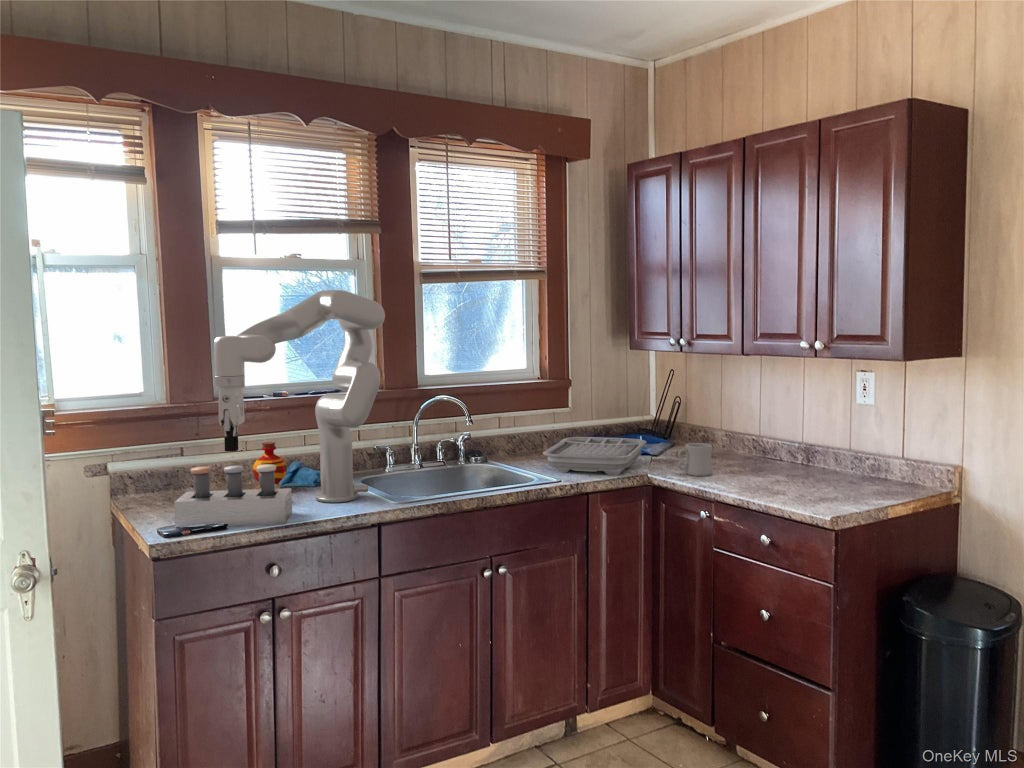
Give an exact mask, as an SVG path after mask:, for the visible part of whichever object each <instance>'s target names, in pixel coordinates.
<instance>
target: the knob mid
mask: <svg viewBox="0 0 1024 768" xmlns="http://www.w3.org/2000/svg"><path fill="white" fill-rule="evenodd" d="M244 470H245V469H244V465H228V466H225V467H223V472H224V473H225V477H226V478H225V481H226V490H227V497H242V496H243V490H244V489H243V472H244Z"/></svg>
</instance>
